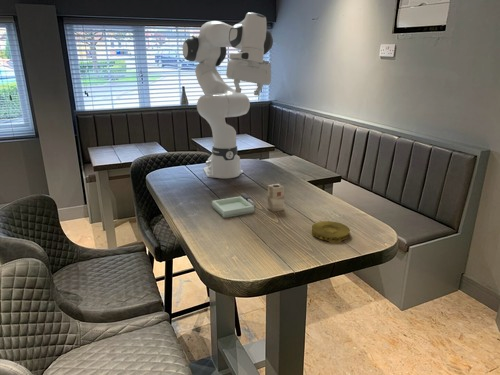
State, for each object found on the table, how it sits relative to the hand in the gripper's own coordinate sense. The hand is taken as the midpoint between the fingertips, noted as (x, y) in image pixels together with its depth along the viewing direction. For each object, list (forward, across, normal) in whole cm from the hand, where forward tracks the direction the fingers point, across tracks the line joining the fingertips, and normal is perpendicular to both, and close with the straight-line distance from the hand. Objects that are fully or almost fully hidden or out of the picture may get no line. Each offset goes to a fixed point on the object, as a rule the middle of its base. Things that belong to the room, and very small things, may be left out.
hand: (247, 93), depth 149 cm
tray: (+43, +11, +13) cm, 46 cm away
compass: (+42, -1, +50) cm, 65 cm away
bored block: (+41, -2, +22) cm, 47 cm away
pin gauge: (+42, +1, +9) cm, 43 cm away
